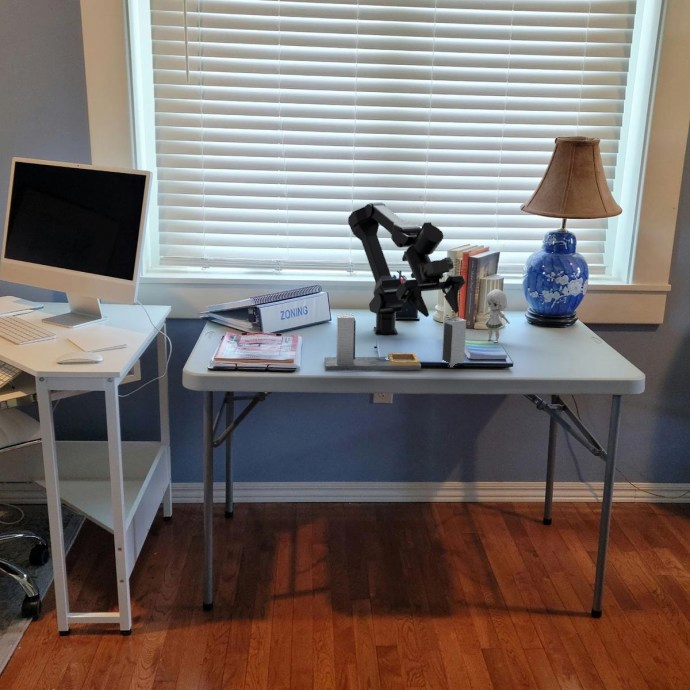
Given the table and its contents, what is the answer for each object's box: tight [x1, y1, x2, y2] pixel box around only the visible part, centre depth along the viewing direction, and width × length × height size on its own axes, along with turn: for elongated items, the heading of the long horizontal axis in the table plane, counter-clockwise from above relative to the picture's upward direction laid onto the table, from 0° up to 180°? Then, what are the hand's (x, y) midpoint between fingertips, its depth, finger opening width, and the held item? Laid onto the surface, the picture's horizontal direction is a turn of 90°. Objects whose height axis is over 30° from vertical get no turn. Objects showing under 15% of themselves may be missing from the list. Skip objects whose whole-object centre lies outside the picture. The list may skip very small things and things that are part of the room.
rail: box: [324, 313, 422, 371], centre depth 196 cm, size 7×24×13 cm, turn 94°
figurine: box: [481, 288, 511, 343], centre depth 219 cm, size 10×6×15 cm, turn 40°
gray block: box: [441, 316, 467, 368], centre depth 198 cm, size 4×4×12 cm
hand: (442, 314), depth 201 cm, fingers open, 9 cm apart
